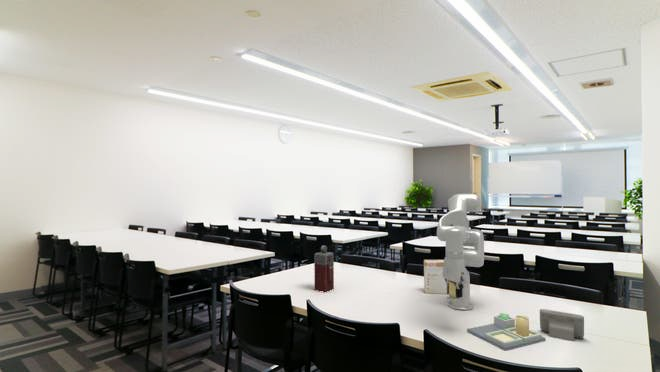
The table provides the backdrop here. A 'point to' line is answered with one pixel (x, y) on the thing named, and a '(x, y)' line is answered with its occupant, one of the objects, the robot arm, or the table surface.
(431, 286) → the coffeecake box
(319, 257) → the square decanter bottle
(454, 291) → the cylinder
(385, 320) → the table surface
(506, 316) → the button
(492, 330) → the station
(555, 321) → the digital clock
